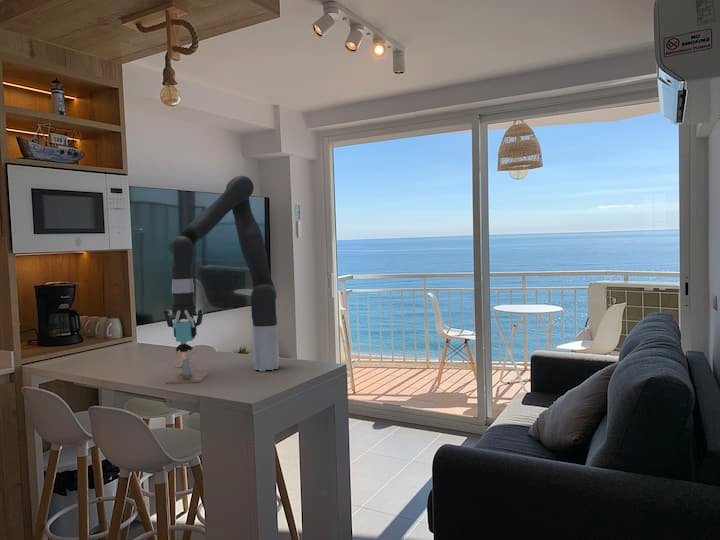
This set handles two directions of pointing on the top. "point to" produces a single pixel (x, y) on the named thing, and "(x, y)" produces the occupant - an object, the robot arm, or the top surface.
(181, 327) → the turquoise rectangular block
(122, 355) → the top surface
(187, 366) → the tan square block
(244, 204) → the robot arm
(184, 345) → the grandmother figurine
